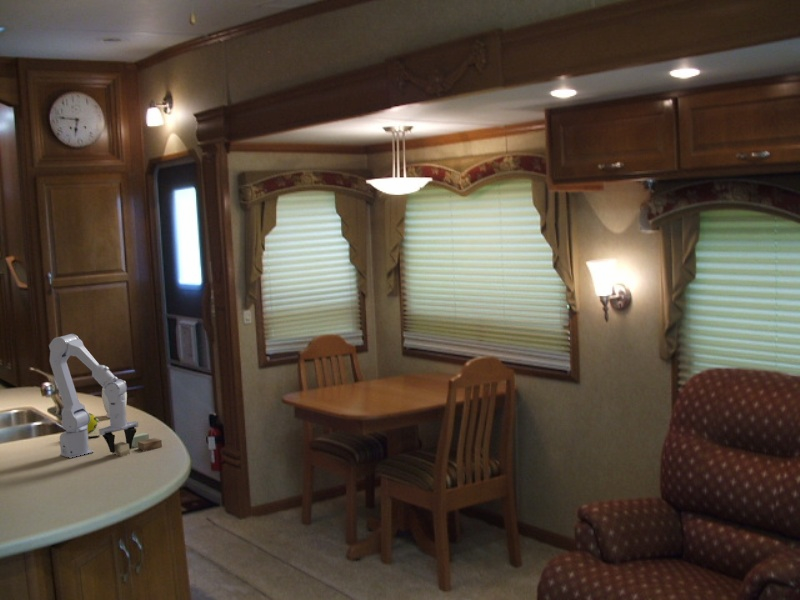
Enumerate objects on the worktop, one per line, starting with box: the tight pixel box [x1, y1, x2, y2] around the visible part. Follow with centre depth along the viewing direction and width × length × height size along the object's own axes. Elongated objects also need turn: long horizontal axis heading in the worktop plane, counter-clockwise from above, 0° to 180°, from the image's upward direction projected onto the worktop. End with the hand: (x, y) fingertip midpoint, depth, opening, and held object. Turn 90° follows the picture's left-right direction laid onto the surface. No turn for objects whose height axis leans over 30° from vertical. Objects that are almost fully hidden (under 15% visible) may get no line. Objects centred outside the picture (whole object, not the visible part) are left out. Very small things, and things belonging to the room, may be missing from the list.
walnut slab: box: [137, 437, 163, 452], centre depth 336 cm, size 7×5×3 cm
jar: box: [101, 380, 128, 419], centre depth 395 cm, size 11×10×15 cm
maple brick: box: [112, 441, 131, 457], centre depth 330 cm, size 6×4×4 cm, turn 46°
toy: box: [87, 412, 100, 438], centre depth 368 cm, size 9×10×30 cm
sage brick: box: [131, 432, 150, 448], centre depth 342 cm, size 6×4×4 cm, turn 136°
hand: (120, 450), depth 330 cm, fingers open, 6 cm apart
